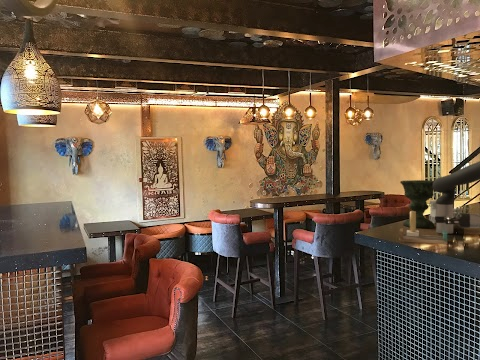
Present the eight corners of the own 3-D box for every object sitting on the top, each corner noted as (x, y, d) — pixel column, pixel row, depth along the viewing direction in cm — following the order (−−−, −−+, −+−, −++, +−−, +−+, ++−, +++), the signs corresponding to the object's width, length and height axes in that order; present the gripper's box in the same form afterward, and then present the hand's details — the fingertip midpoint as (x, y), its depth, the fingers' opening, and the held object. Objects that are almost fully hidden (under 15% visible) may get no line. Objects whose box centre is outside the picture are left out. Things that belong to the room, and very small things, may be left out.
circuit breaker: (454, 222, 273) (455, 201, 273) (434, 223, 274) (434, 201, 273) (449, 221, 281) (449, 200, 280) (429, 221, 281) (429, 200, 280)
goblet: (424, 230, 248) (424, 182, 246) (393, 225, 267) (393, 181, 265) (444, 226, 259) (444, 180, 258) (413, 222, 279) (413, 179, 277)
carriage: (406, 233, 222) (406, 210, 222) (418, 234, 220) (418, 210, 219) (406, 235, 216) (406, 212, 215) (418, 236, 213) (418, 212, 213)
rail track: (400, 238, 225) (400, 228, 225) (445, 240, 216) (445, 230, 216) (399, 241, 216) (399, 231, 216) (447, 244, 207) (447, 233, 206)
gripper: (468, 211, 213) (434, 210, 219) (471, 215, 200) (436, 214, 206) (468, 225, 213) (434, 224, 220) (471, 230, 200) (436, 228, 206)
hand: (435, 219), depth 213 cm, fingers open, 8 cm apart
